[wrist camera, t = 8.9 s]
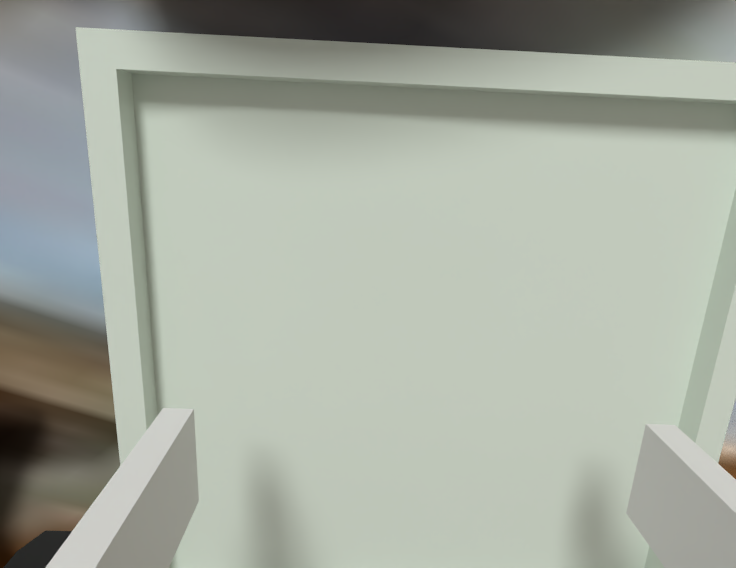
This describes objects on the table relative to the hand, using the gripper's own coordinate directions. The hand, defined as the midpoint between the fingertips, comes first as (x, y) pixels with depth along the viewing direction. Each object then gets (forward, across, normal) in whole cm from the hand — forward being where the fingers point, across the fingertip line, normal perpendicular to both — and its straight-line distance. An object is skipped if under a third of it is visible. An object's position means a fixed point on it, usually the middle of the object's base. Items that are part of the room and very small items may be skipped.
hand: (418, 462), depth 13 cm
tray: (+6, +1, 0) cm, 6 cm away
